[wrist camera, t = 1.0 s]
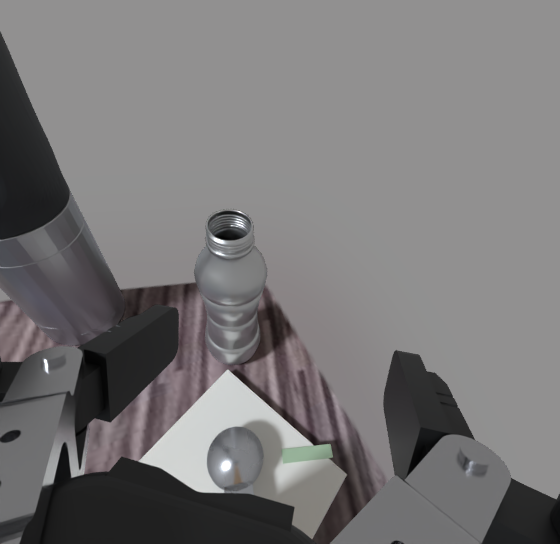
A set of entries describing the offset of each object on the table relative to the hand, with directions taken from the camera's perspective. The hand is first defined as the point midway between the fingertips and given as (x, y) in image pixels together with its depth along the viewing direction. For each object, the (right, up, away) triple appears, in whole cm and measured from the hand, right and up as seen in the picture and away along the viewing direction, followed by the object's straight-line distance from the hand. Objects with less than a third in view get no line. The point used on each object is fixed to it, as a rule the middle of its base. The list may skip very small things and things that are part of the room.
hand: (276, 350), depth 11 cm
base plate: (-3, -17, +19) cm, 25 cm away
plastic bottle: (-6, -6, +27) cm, 29 cm away
